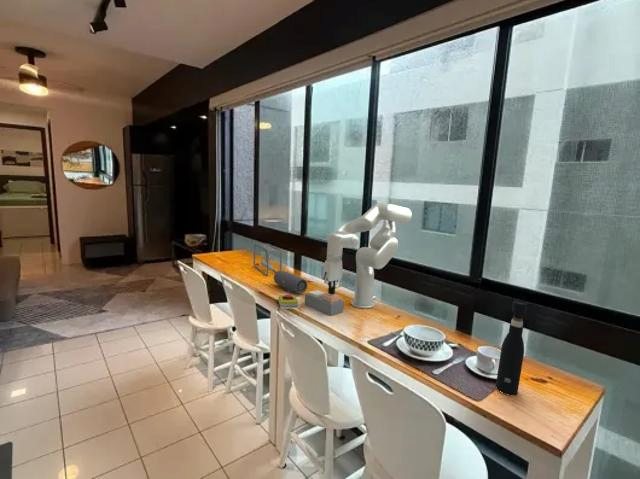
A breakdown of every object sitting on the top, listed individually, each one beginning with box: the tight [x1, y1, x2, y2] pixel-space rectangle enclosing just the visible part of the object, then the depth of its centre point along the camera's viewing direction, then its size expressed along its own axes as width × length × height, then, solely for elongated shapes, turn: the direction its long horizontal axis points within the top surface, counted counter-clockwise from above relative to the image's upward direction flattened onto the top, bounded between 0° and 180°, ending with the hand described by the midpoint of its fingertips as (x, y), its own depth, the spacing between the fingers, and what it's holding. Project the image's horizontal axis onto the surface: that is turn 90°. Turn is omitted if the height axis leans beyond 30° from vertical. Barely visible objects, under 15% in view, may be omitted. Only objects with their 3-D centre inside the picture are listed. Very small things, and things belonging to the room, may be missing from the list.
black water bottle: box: [495, 300, 528, 396], centre depth 111 cm, size 6×6×30 cm
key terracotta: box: [323, 292, 341, 303], centre depth 174 cm, size 6×6×5 cm
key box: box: [304, 292, 345, 317], centre depth 178 cm, size 9×19×6 cm, turn 44°
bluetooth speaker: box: [273, 270, 308, 294], centre depth 205 cm, size 23×9×10 cm, turn 42°
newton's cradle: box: [253, 243, 283, 277], centre depth 246 cm, size 30×10×18 cm, turn 28°
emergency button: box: [277, 294, 300, 310], centre depth 182 cm, size 9×4×15 cm
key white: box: [309, 289, 327, 298], centre depth 181 cm, size 6×6×5 cm
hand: (331, 293), depth 173 cm, fingers closed
